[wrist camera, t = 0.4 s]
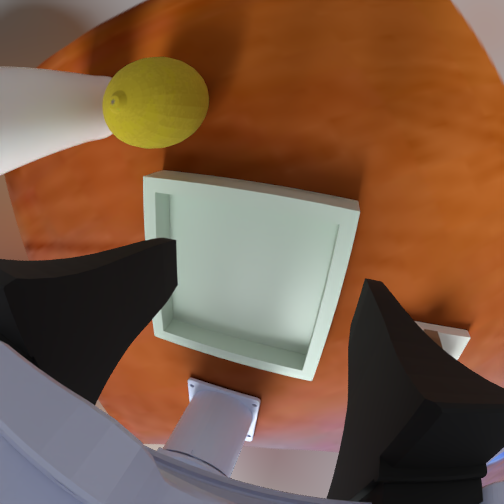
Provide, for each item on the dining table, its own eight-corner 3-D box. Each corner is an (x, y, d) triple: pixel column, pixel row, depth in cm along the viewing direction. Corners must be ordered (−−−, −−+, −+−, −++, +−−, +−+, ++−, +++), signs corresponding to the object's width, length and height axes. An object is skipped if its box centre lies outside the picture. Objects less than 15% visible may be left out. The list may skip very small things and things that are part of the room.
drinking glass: (146, 129, 20) (-44, 173, 7) (90, 157, 23) (-63, 213, 10) (126, 54, 18) (-51, 47, 5) (73, 90, 21) (-77, 114, 7)
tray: (315, 360, 24) (311, 381, 22) (167, 320, 27) (154, 335, 25) (358, 200, 18) (360, 211, 16) (162, 169, 21) (143, 176, 19)
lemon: (208, 52, 17) (136, 25, 10) (240, 120, 18) (179, 122, 11) (146, 91, 19) (65, 90, 12) (174, 154, 21) (98, 177, 14)
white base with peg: (427, 393, 23) (433, 433, 19) (352, 383, 24) (349, 425, 20) (467, 330, 19) (483, 370, 15) (383, 314, 21) (387, 358, 17)
